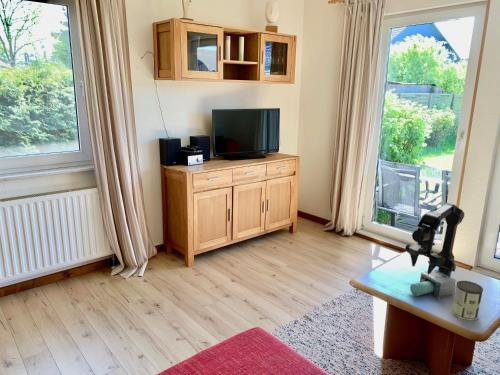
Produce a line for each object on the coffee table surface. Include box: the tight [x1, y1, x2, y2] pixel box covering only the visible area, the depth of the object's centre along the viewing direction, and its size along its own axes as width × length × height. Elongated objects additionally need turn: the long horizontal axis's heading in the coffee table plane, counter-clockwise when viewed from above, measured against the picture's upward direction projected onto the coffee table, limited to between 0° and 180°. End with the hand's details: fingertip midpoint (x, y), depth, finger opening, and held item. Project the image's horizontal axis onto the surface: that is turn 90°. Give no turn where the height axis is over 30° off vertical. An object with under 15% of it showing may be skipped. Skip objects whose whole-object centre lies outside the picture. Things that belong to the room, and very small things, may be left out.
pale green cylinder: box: [409, 280, 436, 297], centre depth 183 cm, size 13×6×6 cm, turn 113°
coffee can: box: [451, 280, 484, 321], centre depth 165 cm, size 10×10×14 cm
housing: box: [419, 269, 457, 299], centre depth 186 cm, size 11×12×8 cm
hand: (420, 270), depth 179 cm, fingers open, 9 cm apart
